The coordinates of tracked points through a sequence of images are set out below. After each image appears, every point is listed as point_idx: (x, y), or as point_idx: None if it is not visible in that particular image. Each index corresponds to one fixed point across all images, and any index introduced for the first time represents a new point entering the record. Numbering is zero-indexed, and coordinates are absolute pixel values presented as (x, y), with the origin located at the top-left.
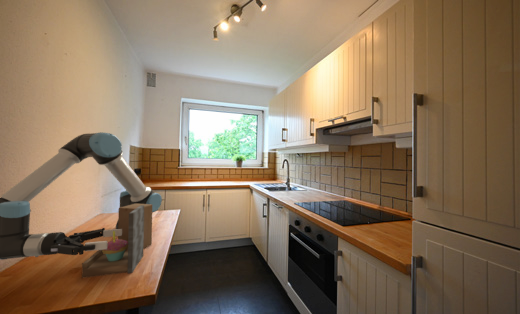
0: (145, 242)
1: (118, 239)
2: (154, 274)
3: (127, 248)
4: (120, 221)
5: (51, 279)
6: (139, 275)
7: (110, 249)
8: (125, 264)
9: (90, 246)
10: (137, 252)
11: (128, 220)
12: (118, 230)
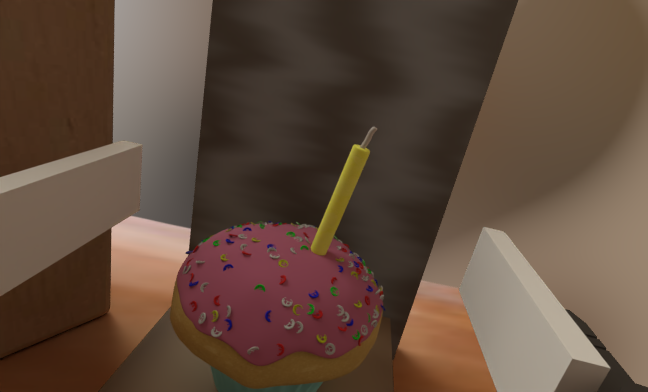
0: None
1: (250, 230)
2: (423, 289)
3: (22, 322)
4: None
5: None
6: (422, 324)
7: (382, 304)
8: (390, 330)
9: (589, 338)
10: None
11: (8, 55)
12: (126, 161)
